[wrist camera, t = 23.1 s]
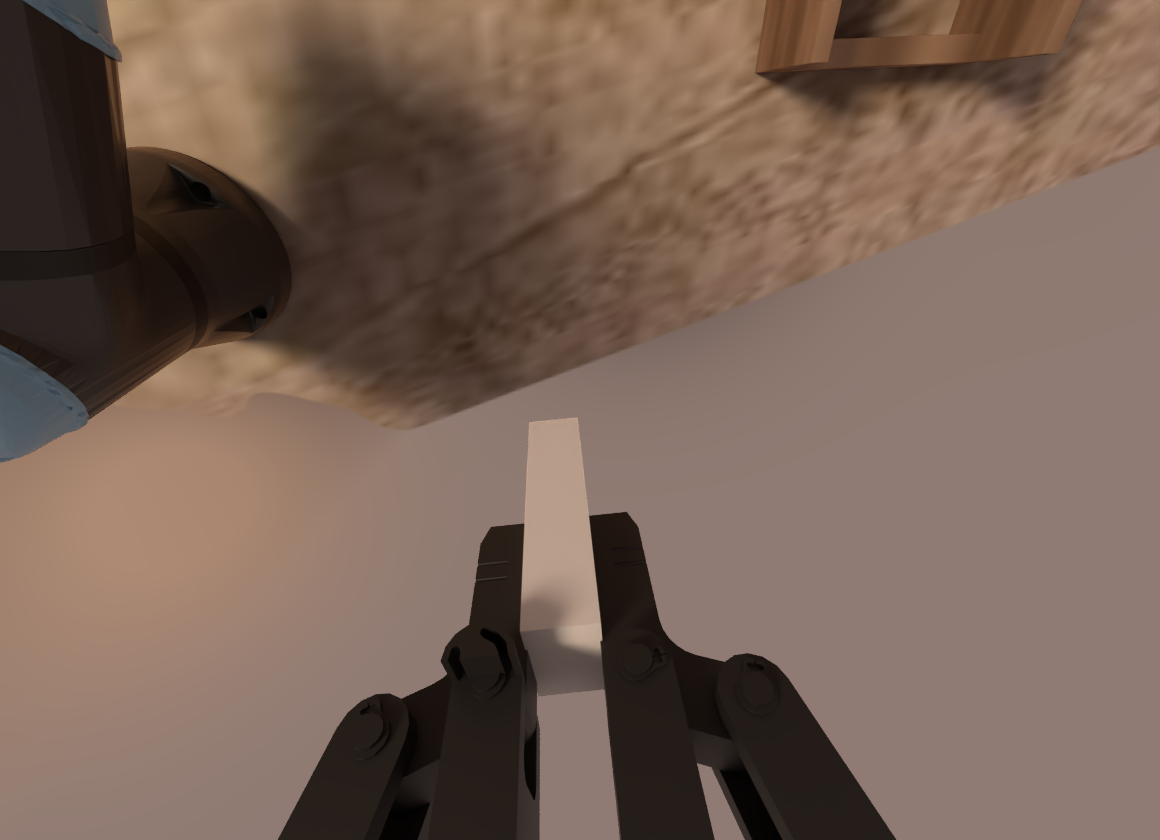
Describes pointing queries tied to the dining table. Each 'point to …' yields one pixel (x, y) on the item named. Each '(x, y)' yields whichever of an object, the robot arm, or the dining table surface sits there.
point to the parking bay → (979, 33)
